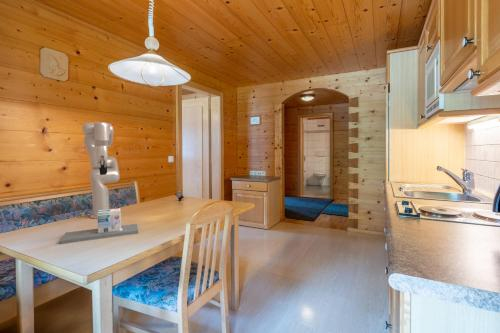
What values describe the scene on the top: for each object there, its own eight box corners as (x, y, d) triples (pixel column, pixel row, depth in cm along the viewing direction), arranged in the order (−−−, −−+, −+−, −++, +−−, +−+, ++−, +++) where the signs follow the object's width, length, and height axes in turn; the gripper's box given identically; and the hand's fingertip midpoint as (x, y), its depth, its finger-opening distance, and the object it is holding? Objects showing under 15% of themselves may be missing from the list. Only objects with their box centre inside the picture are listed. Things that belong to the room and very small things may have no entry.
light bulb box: (97, 233, 134) (96, 212, 133) (99, 229, 140) (98, 210, 139) (121, 230, 139) (120, 210, 138) (121, 227, 145) (120, 207, 144)
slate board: (65, 235, 136) (65, 232, 136) (136, 226, 151) (136, 223, 151) (60, 244, 124) (59, 240, 124) (138, 233, 139) (138, 230, 139)
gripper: (96, 144, 156) (97, 173, 157) (93, 143, 141) (94, 175, 142) (110, 144, 159) (111, 172, 161) (109, 143, 144) (110, 174, 145)
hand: (103, 173), depth 151 cm, fingers open, 9 cm apart
